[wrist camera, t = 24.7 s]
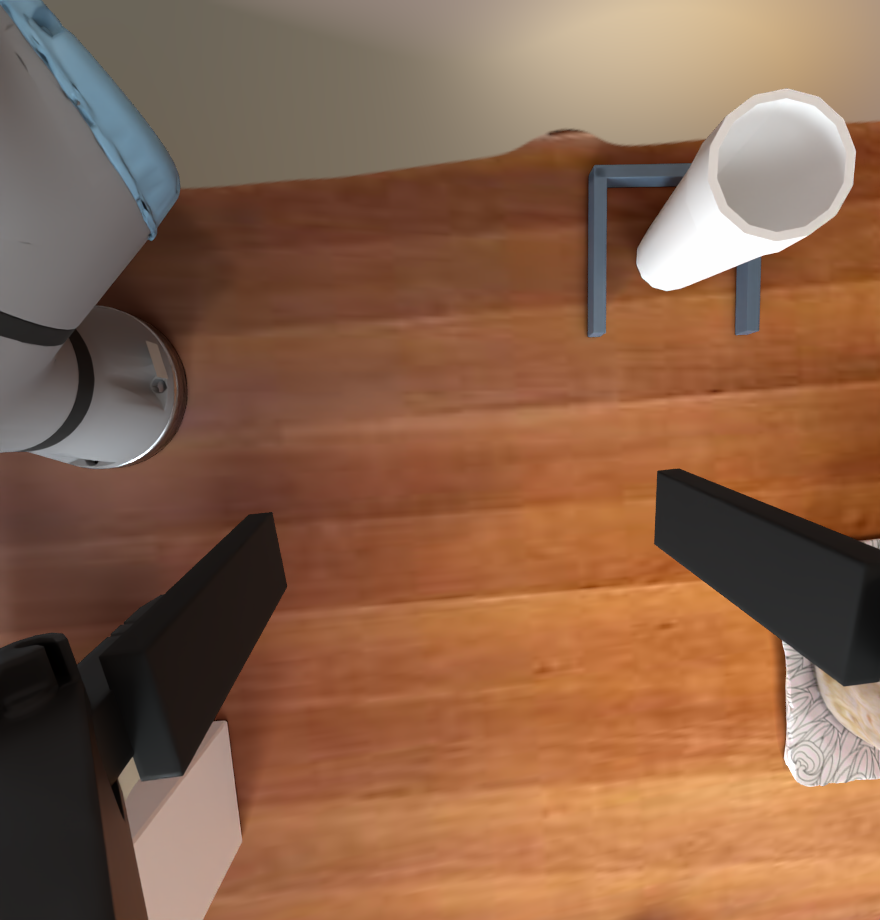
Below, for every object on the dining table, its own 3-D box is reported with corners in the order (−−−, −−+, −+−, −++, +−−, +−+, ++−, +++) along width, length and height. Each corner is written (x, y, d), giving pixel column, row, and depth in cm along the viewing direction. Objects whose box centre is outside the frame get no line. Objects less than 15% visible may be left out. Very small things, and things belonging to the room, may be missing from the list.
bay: (747, 334, 39) (759, 330, 38) (587, 337, 39) (593, 333, 38) (751, 172, 39) (763, 161, 37) (588, 175, 39) (594, 164, 37)
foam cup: (628, 315, 39) (719, 252, 26) (611, 218, 39) (696, 106, 26) (725, 295, 39) (866, 224, 26) (710, 198, 39) (845, 76, 26)
